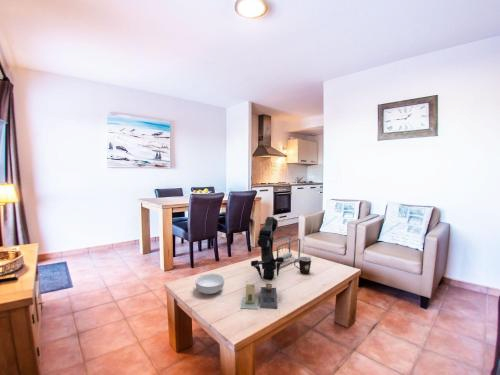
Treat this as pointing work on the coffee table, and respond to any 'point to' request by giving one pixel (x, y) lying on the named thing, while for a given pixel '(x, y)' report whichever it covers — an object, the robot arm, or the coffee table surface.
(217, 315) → the coffee table surface
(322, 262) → the coffee table surface
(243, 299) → the bench mat
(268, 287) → the plane body
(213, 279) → the cereal bowl
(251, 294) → the lever cap
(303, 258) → the coffee mug
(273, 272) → the robot arm
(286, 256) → the newton's cradle
